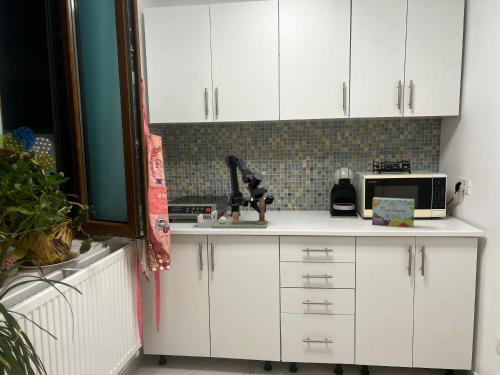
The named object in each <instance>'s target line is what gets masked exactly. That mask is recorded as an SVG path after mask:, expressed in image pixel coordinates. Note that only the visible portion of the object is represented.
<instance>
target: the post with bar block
mask: <svg viewBox="0 0 500 375" xmlns="http://www.w3.org/2000/svg"><path fill="white" fill-rule="evenodd" d="M264 198H265V197H262V198H259V202H258V207H259V209H260V213H258V219H257V220H240V216H239V212H233V213H232V214H233V216H232V220H231V221H232V223H233V224H238V223H257V224H266V223H267V221H268V220H267V219H266V218H265V217H266V216H265V214H266V213H265V204H264Z"/></svg>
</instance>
